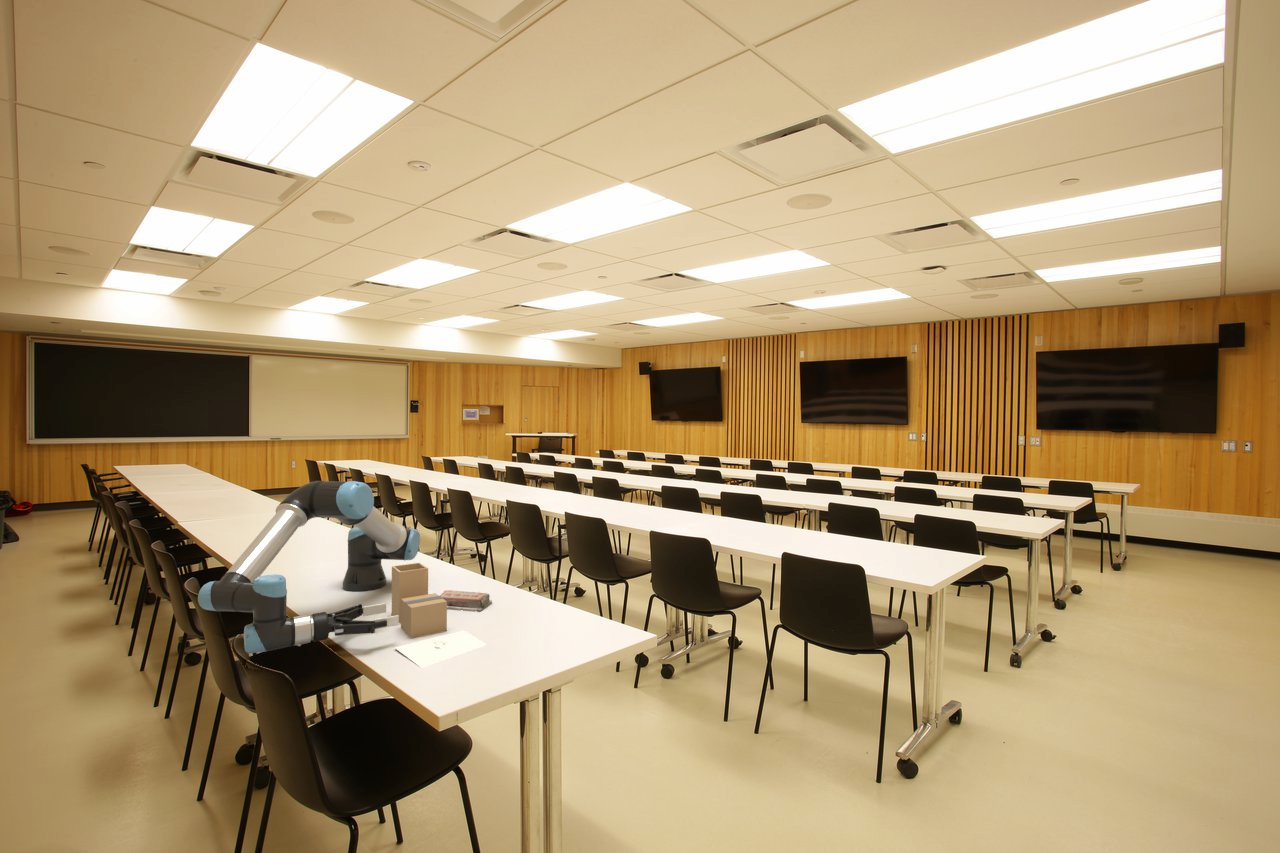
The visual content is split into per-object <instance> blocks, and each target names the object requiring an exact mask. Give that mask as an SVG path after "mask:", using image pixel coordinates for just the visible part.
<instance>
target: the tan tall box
mask: <svg viewBox="0 0 1280 853" xmlns="http://www.w3.org/2000/svg"><path fill="white" fill-rule="evenodd" d="M427 594H429V567H427V566H426V565H424V564H423V563H421V562H415V563H414V562H413V563H407V564H399V565H392V566H391V616H395V615H398V616H399V623H401V599H404V598H409V597H415V596H421V595H427Z"/></svg>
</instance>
